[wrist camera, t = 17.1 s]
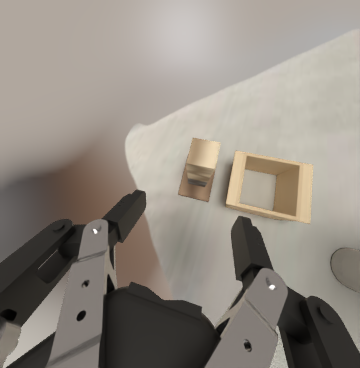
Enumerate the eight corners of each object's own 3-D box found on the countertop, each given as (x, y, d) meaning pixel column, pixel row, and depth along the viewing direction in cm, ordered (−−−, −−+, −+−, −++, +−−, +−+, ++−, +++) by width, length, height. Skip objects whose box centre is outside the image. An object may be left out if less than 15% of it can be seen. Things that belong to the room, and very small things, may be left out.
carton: (287, 174, 37) (313, 164, 29) (283, 221, 35) (310, 223, 27) (226, 162, 39) (235, 150, 32) (218, 205, 37) (226, 203, 29)
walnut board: (216, 161, 40) (217, 159, 38) (207, 201, 37) (208, 201, 36) (188, 155, 41) (188, 153, 40) (178, 194, 39) (178, 193, 37)
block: (208, 171, 38) (220, 142, 22) (204, 187, 37) (215, 169, 21) (191, 167, 38) (192, 137, 23) (188, 183, 38) (186, 163, 22)
